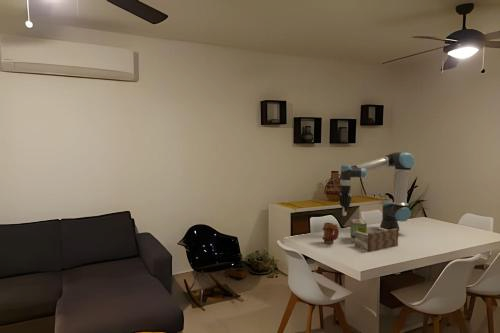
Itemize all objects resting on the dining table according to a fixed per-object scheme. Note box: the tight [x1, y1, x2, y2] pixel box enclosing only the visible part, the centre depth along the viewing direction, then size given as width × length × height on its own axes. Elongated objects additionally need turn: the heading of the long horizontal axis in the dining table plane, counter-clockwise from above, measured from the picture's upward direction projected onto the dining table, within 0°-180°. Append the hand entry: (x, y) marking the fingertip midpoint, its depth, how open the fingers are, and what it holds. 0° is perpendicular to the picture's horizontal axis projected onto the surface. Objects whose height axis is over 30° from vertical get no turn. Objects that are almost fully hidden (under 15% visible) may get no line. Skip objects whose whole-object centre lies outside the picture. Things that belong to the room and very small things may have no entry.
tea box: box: [350, 218, 368, 244], centre depth 257 cm, size 15×10×15 cm, turn 168°
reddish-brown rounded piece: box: [322, 222, 340, 245], centre depth 248 cm, size 15×8×15 cm, turn 23°
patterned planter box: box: [354, 227, 399, 253], centre depth 243 cm, size 28×14×12 cm, turn 119°
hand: (344, 215), depth 269 cm, fingers closed
